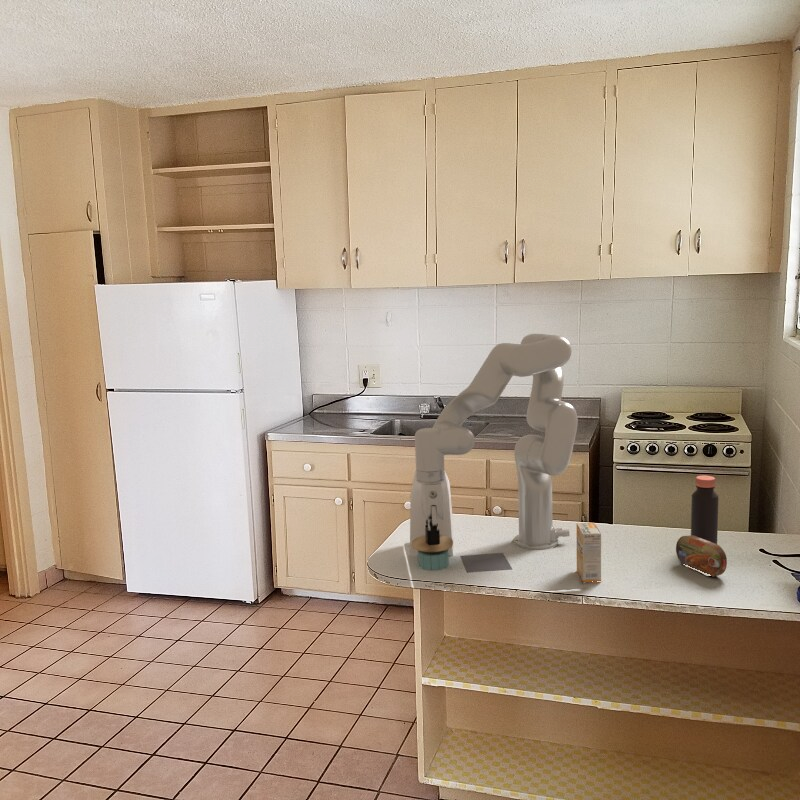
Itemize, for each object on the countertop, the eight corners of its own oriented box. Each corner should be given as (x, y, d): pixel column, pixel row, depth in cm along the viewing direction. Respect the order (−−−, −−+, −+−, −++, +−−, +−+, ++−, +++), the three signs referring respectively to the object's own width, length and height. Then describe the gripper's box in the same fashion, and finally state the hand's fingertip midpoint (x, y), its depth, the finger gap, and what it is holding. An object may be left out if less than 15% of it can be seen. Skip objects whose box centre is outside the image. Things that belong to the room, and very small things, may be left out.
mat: (503, 554, 210) (503, 552, 210) (512, 571, 199) (512, 569, 198) (460, 557, 210) (460, 555, 209) (467, 574, 198) (467, 572, 198)
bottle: (722, 550, 207) (724, 479, 203) (700, 553, 205) (702, 482, 202) (706, 542, 213) (708, 473, 210) (685, 545, 212) (686, 475, 208)
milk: (454, 543, 221) (451, 456, 217) (453, 557, 210) (450, 466, 206) (413, 543, 222) (409, 456, 218) (409, 557, 211) (406, 466, 207)
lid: (449, 536, 209) (449, 520, 208) (455, 550, 198) (455, 533, 197) (410, 539, 208) (409, 523, 207) (414, 553, 197) (413, 536, 197)
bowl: (446, 559, 208) (445, 544, 208) (450, 570, 200) (449, 554, 200) (417, 561, 208) (416, 545, 207) (420, 572, 200) (419, 556, 199)
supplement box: (575, 570, 197) (575, 522, 195) (594, 570, 197) (594, 521, 195) (582, 583, 189) (582, 533, 187) (601, 583, 189) (601, 532, 187)
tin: (674, 562, 200) (675, 531, 199) (683, 560, 201) (684, 529, 200) (719, 582, 186) (720, 549, 185) (728, 579, 188) (729, 547, 186)
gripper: (448, 482, 192) (451, 551, 195) (440, 466, 208) (442, 530, 211) (419, 484, 192) (422, 553, 195) (413, 468, 208) (415, 532, 211)
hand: (432, 541), depth 203 cm, fingers closed on lid, 3 cm apart
